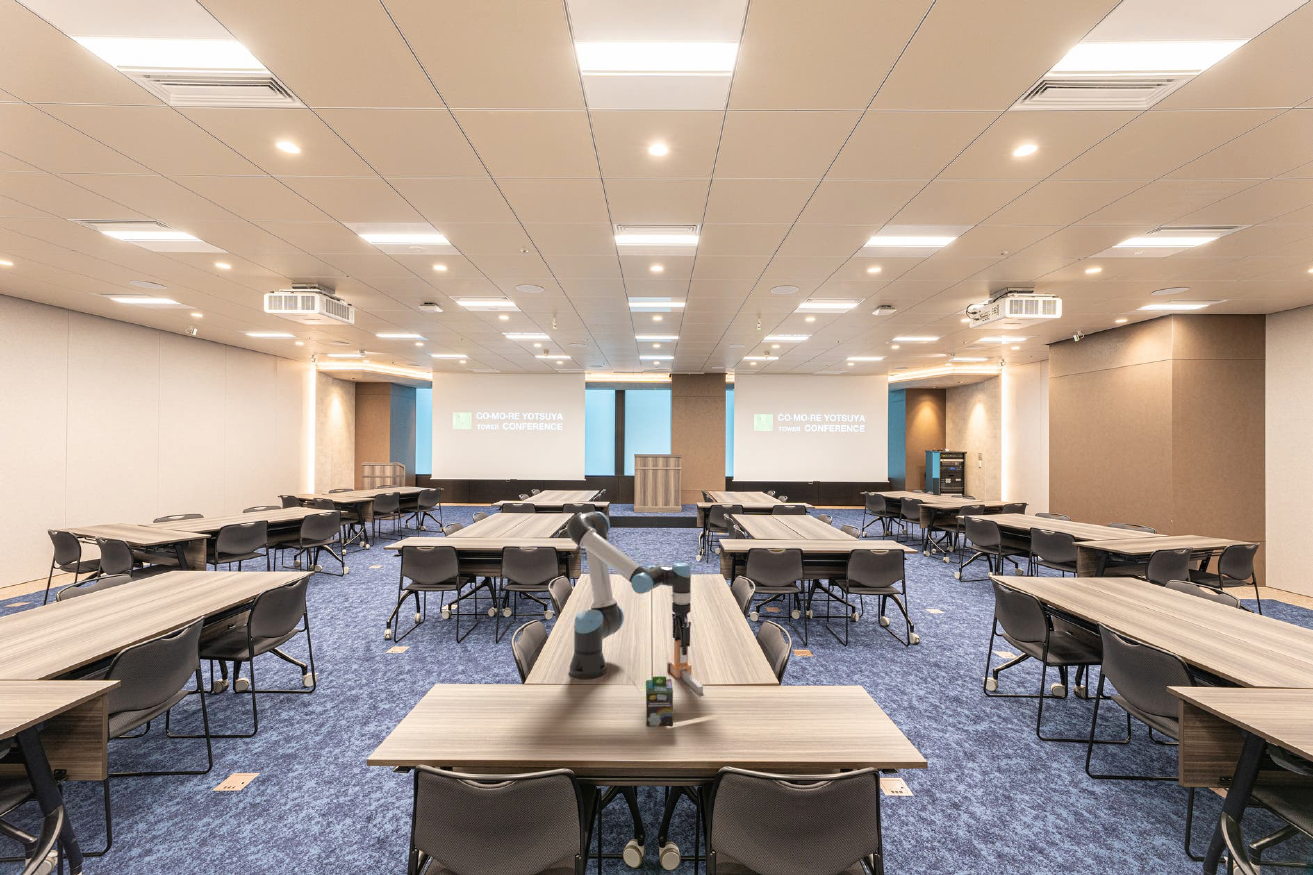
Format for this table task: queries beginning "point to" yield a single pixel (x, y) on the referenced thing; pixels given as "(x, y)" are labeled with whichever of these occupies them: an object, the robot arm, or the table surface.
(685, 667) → the slider
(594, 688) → the table surface
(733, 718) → the table surface
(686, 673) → the rail
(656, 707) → the chalk box
